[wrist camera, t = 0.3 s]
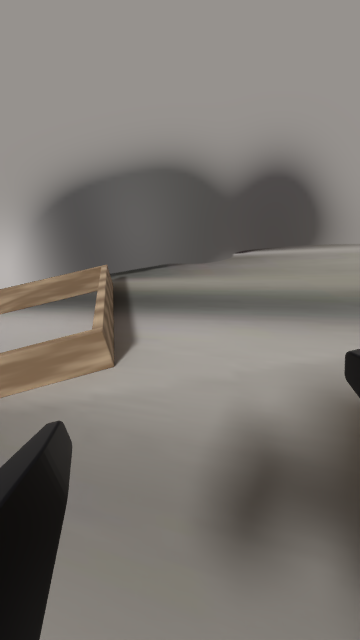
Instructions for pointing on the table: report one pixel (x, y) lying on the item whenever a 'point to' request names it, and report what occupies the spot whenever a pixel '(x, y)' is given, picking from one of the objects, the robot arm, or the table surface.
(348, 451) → the table surface
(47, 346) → the frame
